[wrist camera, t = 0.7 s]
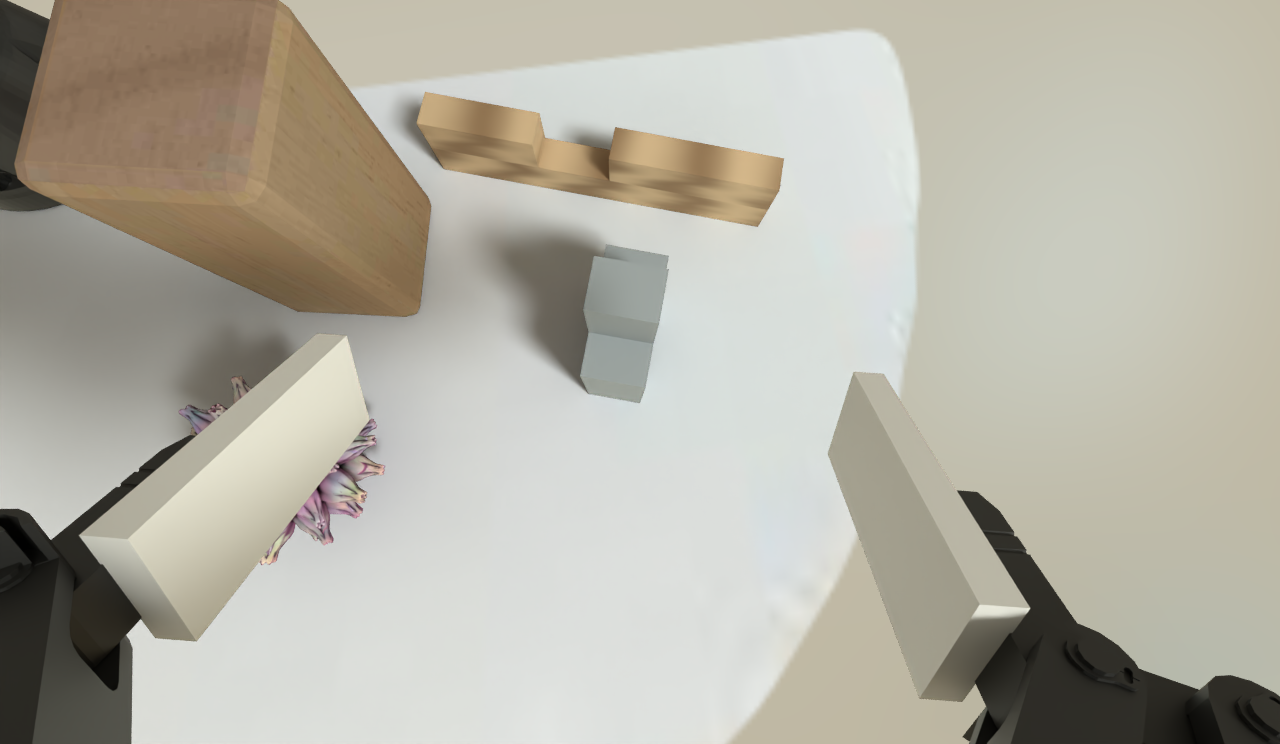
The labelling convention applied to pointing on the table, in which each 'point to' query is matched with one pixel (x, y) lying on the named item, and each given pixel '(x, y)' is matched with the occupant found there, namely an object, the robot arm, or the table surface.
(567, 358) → the table surface
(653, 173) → the oak slotted plate
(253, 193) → the wooden block
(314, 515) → the flower
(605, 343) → the grey stepped block
